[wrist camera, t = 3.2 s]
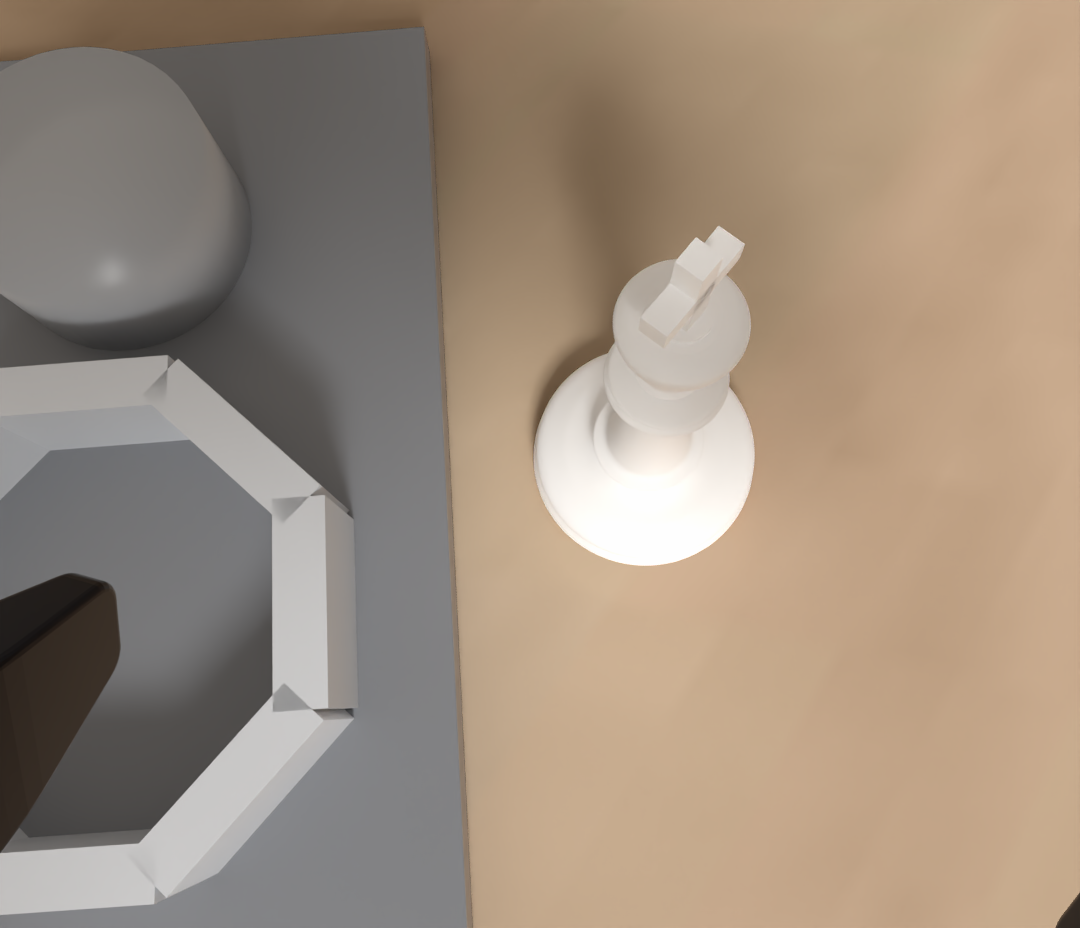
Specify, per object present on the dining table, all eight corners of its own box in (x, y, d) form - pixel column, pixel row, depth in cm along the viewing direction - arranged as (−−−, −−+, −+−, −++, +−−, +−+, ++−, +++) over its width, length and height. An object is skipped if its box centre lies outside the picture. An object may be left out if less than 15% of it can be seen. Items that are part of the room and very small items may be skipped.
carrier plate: (482, 1128, 19) (459, 1239, 15) (-232, 1176, 19) (-441, 1298, 15) (430, 53, 25) (402, -69, 21) (-117, 98, 25) (-245, -15, 21)
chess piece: (796, 441, 22) (976, 230, 12) (662, 612, 21) (738, 532, 11) (624, 313, 23) (664, 21, 13) (489, 472, 22) (423, 287, 12)
